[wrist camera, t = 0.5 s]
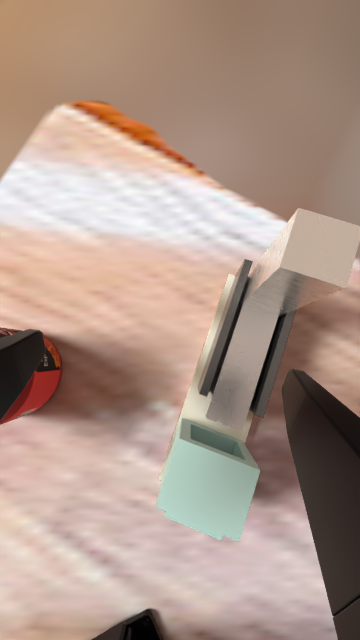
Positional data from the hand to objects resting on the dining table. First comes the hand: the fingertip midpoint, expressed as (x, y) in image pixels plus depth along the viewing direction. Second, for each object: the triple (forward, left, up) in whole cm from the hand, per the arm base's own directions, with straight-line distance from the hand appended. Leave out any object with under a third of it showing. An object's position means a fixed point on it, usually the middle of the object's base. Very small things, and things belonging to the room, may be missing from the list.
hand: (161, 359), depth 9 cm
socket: (-9, +2, -14) cm, 17 cm away
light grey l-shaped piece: (-2, -5, -13) cm, 14 cm away
